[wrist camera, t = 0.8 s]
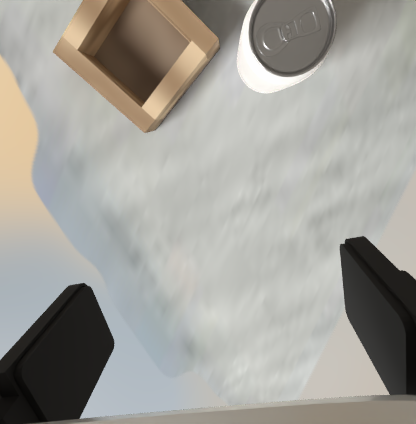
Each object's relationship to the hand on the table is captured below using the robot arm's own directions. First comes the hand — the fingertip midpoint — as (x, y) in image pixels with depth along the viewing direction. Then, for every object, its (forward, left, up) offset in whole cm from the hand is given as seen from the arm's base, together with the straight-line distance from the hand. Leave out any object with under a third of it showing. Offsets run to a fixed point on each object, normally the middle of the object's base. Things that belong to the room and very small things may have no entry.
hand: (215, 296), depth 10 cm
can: (-11, -4, -25) cm, 28 cm away
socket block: (-3, -14, -25) cm, 29 cm away
